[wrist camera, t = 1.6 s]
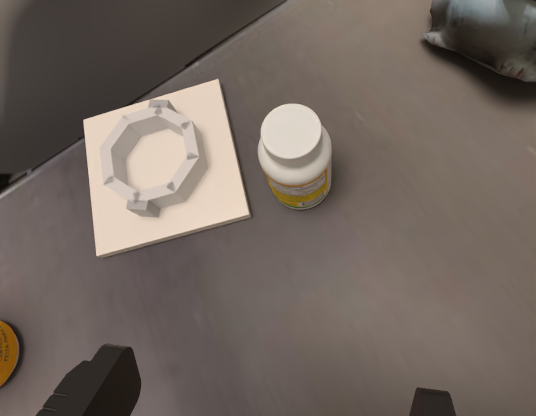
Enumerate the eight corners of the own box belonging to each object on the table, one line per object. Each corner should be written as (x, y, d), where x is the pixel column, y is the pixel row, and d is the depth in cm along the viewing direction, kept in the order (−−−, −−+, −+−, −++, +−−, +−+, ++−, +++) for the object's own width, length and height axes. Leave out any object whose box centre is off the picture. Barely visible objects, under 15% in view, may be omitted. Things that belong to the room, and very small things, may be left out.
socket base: (220, 84, 38) (210, 62, 35) (251, 217, 34) (242, 206, 31) (89, 124, 39) (67, 106, 36) (102, 257, 35) (79, 251, 32)
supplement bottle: (317, 219, 33) (313, 181, 24) (261, 198, 34) (236, 154, 25) (340, 164, 34) (344, 107, 25) (285, 145, 35) (269, 85, 26)
